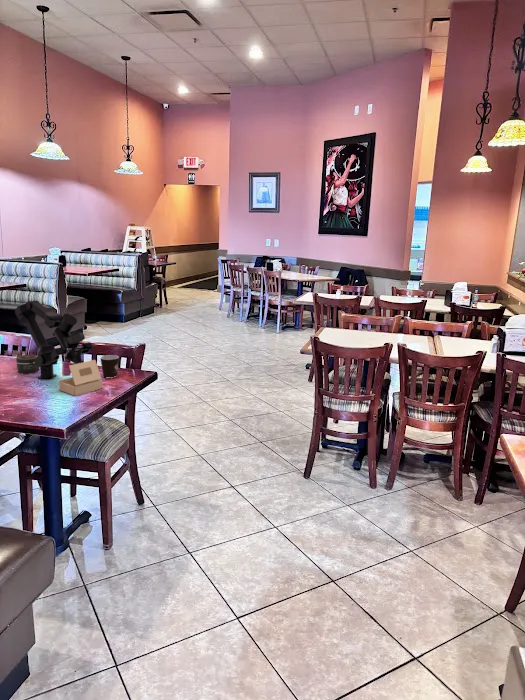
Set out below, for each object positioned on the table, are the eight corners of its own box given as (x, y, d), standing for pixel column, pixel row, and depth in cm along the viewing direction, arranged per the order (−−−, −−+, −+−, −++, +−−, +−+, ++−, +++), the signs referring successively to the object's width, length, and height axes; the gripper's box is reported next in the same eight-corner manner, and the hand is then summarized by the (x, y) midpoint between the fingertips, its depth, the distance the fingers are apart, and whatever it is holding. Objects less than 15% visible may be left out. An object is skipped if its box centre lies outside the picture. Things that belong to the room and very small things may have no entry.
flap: (75, 385, 217) (68, 365, 217) (100, 378, 227) (94, 359, 227) (75, 385, 216) (69, 365, 216) (101, 378, 227) (95, 359, 227)
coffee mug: (108, 380, 240) (107, 360, 238) (97, 376, 245) (96, 357, 243) (128, 375, 249) (127, 356, 247) (117, 372, 254) (116, 353, 252)
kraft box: (58, 390, 224) (57, 381, 223) (86, 382, 236) (86, 374, 235) (74, 396, 217) (74, 387, 216) (103, 388, 229) (103, 379, 228)
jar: (16, 369, 251) (15, 355, 249) (38, 368, 255) (37, 353, 254) (17, 375, 242) (16, 360, 240) (40, 373, 247) (38, 358, 245)
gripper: (52, 330, 215) (69, 360, 211) (89, 324, 229) (105, 352, 226) (43, 345, 221) (59, 374, 217) (80, 338, 236) (95, 365, 232)
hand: (80, 366), depth 223 cm, fingers closed
